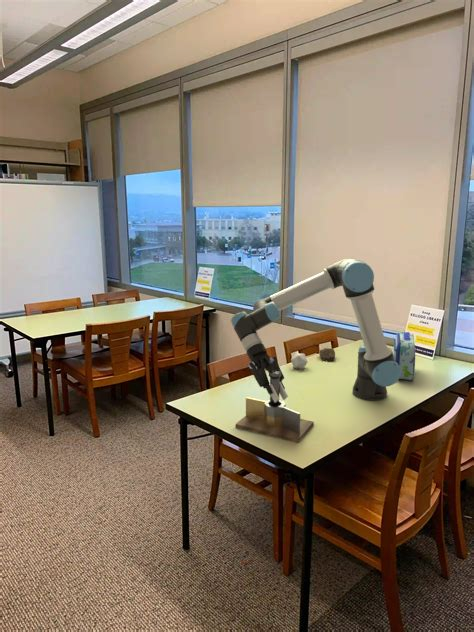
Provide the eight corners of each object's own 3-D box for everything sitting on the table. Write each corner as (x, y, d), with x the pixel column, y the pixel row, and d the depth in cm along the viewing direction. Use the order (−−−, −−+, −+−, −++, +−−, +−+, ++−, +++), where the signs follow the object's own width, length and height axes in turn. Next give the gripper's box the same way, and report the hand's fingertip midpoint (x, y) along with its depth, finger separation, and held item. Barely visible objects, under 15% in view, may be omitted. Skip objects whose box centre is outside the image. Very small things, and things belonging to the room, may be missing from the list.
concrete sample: (320, 355, 264) (320, 346, 262) (337, 356, 260) (337, 348, 259) (316, 360, 253) (316, 352, 252) (334, 362, 249) (334, 353, 248)
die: (298, 372, 235) (309, 358, 234) (286, 362, 238) (296, 348, 237) (301, 373, 243) (312, 359, 242) (289, 363, 246) (299, 349, 245)
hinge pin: (282, 406, 172) (282, 371, 169) (277, 411, 168) (278, 375, 165) (271, 404, 174) (271, 369, 171) (266, 408, 170) (266, 373, 167)
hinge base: (313, 425, 174) (313, 421, 173) (298, 442, 160) (298, 439, 160) (254, 412, 186) (254, 408, 186) (235, 427, 172) (235, 423, 172)
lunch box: (391, 365, 243) (394, 328, 239) (412, 367, 240) (415, 329, 235) (391, 381, 219) (394, 340, 215) (415, 384, 216) (418, 342, 211)
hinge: (307, 425, 170) (307, 405, 168) (299, 434, 163) (299, 414, 161) (250, 412, 182) (250, 394, 180) (240, 420, 174) (240, 401, 173)
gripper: (266, 348, 184) (292, 398, 175) (233, 356, 175) (259, 409, 165) (274, 339, 179) (302, 390, 169) (241, 346, 169) (269, 400, 160)
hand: (281, 399), depth 167 cm, fingers closed on hinge pin, 4 cm apart
